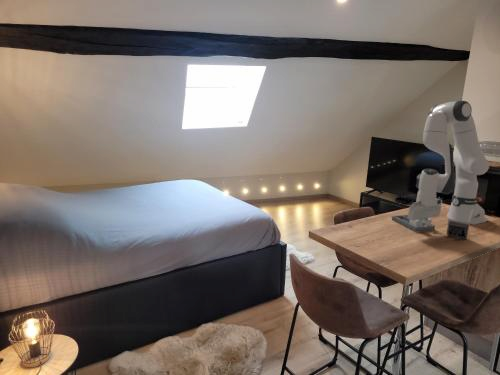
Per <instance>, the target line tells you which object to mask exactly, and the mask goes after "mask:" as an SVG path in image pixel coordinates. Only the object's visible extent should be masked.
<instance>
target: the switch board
mask: <svg viewBox="0 0 500 375" xmlns="http://www.w3.org/2000/svg"><path fill="white" fill-rule="evenodd" d="M407 216H408V214H399V215H398V214H397V215H392V216H391V220H392V221H393V222H395V223H397V224H399V225H400V226H403V227H404V228H406V229H409V230H410V231H413V232H414V233H417V232H426V231H435V228H436V225H435V224H432V223H431V225H428V226H422V227H421V226H417V227H415V226H413V225H411V224H409V222H410V219H408V217H407Z"/></svg>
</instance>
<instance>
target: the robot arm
mask: <svg viewBox="0 0 500 375" xmlns="http://www.w3.org/2000/svg"><path fill="white" fill-rule="evenodd" d="M472 112H473V110H472V106H471V103H469V101H466V100H456V101H448V102H445V103H441V104H435V105H434V106H432V107H431V108H430V109H429V111H428V114H427V118H426V120H425V124H424V128H423V133H422V143H423V145H424V146H425V147H426V148H427V149H429V151H432V152H435V153H437V154H439V155H440V156H442V157H443V159H444V171H445V172H444V173H443V174H441V173H439V171H438V170H437V169H434V168H424V169H423V170H422V171H421V173H419V174H418V175H416V183H415V184H416V185H415V187H416V188H417V189H418V191H417V194H416V195H417V196H416V200H415V201H414V202H412V204H410V206H409V208H408V211H407V212H408V213H407V215H408V216H407V217H408V219H410V220H413V221H414V220H418V221H419V226H421V227H422V226H425V225H426V222H427V221H428V218H430V219H432V218H436V217H439V216H440V214H441V209H442V203H443V200H442V199H441V198H437V193H440V194H444V195H449V194H451V193H453V194H452V196H451V197H452V198H451V204H450V207H449V210H448V212H447V214H446V218H447V219H449V220H455V221H461V222H466V223H469V224H470V225H474V226H475V225H479V224H483V223H487V222H486V221H488V222H490V219H489V218H488V217H486V216H485V215H486V212H485V209H484V208H483V207H482V206H481V205H480V204H479V203H478V202H482V198H481V197H477V194H478V189H479V188H478V187H479V182H478V179H477V177H478V176H481V175H484V174H486V172H488V170H489V168H490V162H489V161H488V159H487V158H486V156H485V154H484V152H483V149H482V146H481V144H480V142H479V139H478V138H479V137H478V133H477V129H476V124H475V120H474V117H473V114H472ZM448 124H451V131H452V134H453V135H452V136H453V140H454V145H455V147H456V149H457V150H458V153H457V154H456V155H455V157H454V150H453V145H452V144H451V143H450V142H449V141H448V138H447V133H448Z"/></svg>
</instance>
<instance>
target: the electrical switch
mask: <svg viewBox="0 0 500 375" xmlns="http://www.w3.org/2000/svg"><path fill="white" fill-rule="evenodd" d="M470 225H471V224H469V223H466V222H461V221H455V220H450V219H449V220H448V222H447V228H446V234H445V235H446V236H447V238H451V239H454V240H455V239H456V240H461V241H466V240H467V239H468V233H469V231H470V230H469V229H470Z"/></svg>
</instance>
